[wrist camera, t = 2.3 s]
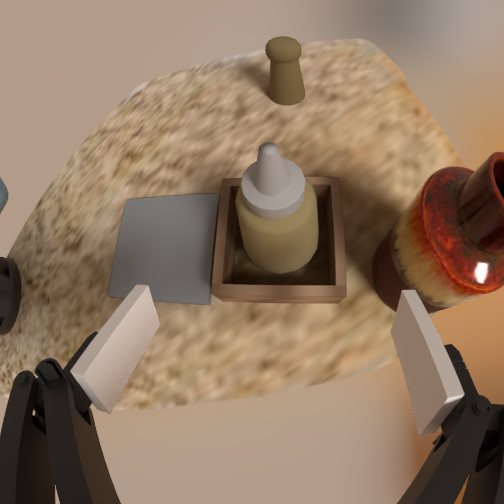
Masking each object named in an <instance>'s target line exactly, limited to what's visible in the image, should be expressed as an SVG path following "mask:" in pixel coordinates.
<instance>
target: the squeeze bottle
mask: <svg viewBox="0 0 504 504" xmlns="http://www.w3.org/2000/svg"><path fill="white" fill-rule="evenodd" d="M235 204H236V209H237V214H238V219H239V224H240V229H241V234H242V239H243V244H244V249H245V252H246V254H247V255H248V257H249V258H250V259H251V261H252V262H253V264H255V265H257V266H258V267H260V268H262V269H263V270H265V271H267V272H273V273H280V274H283V273H287V272H291V271H295V270H298V269H299V268H301V267H302V266H303V265H305V264H306V263H308V262H309V261H310V259H311V258H312V256H313V254H314V253H315V251H316V249H317V245H318V237H319V229H318V214H317V200H316V195H315V192H314V189H313V186H312V184H311V183H310V182H309V181H308V179H307V178H306V177H305V176H304V174H303V171H302V170H301V169H300V167H299V166H298V165H297V164H296V163H295V162H293V161H291V160H288V159H286V158H284V157H282V156H281V153H280V151H279V149H278V147H277V146H276V145H275V144H274V143H272V142H267V143H263V144H262V145H261V146H260V147H259V150H258V157H257V161H256V162H254V163H253V164H251V165H250V166H249V167H248V169H247V170H246V171H245V172H244V174H243V177H242V181H241V186H240V187H239V188H238V192H237V196H236V200H235Z"/></svg>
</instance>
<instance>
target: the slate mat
mask: <svg viewBox="0 0 504 504" xmlns="http://www.w3.org/2000/svg"><path fill="white" fill-rule="evenodd" d="M220 198H221V196H220V194H219V193H209V194H192V195H176V196H163V197H151V198H139V199H129V200H126V204H125V209H124V213H123V217H122V221H121V226H120V230H119V235H118V240H117V245H116V250H115V256H114V261H113V267H112V273H111V280H110V286H109V294H108V296H109V297H112V298H122V299H125V298H126V297H127V296H128V294H129V293H130V292H131V291H132V290H133V288H134V287H135V286H136V285H148V286H149V289H150V293H151V296H152V300H153V301H156V302H168V303H183V304H199V305H211V291H212V279H213V267H214V256H215V246H216V235H217V226H218V216H219V207H220Z"/></svg>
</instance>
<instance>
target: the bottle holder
mask: <svg viewBox="0 0 504 504" xmlns="http://www.w3.org/2000/svg"><path fill="white" fill-rule="evenodd" d="M306 178H307V179H308V181H309V182H310V183H311V184H312V186H313V189H314V192H315V195H316V200H317V206H327V222H328V242H329V273H330V285H238V284H233V277H234V263H235V249H236V235H237V222H238V214H237V209H236V204H235V200H236V196H237V192H238V188H239V187H240V186H241V181H242V178H231V179H223V180H222V189H221V198H220V207H219V216H218V226H217V235H216V246H215V256H214V267H213V279H212V291H211V294H212V295H214V296H216V297H217V298H219V299H220V300H222V301H224V302H252V303H339V302H341V301H342V300H343V299H344V298H345V297H346V296H347V288H346V260H345V242H344V227H343V214H342V203H341V193H340V184H339V177H306Z"/></svg>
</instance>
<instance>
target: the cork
mask: <svg viewBox="0 0 504 504" xmlns="http://www.w3.org/2000/svg"><path fill="white" fill-rule="evenodd" d="M265 51H266V54H267V56H268V58H269V59H270V60H271V62H270V88H269V97H270V99H271V100H272V101H273V102H275V103H277V104H281V105H293V104H297V103H299V102H301V101H302V100H303V99H304V97H305V89H304V84H303V79H302V74H301V70H300V65H299V60H298V59H299V57H300V56H301V45H300V44H299V42H298V41H297V40H296V39H293V38H290V37H276V38H273V39H271V40H269V41H268V43H267V44H266V49H265Z"/></svg>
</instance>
